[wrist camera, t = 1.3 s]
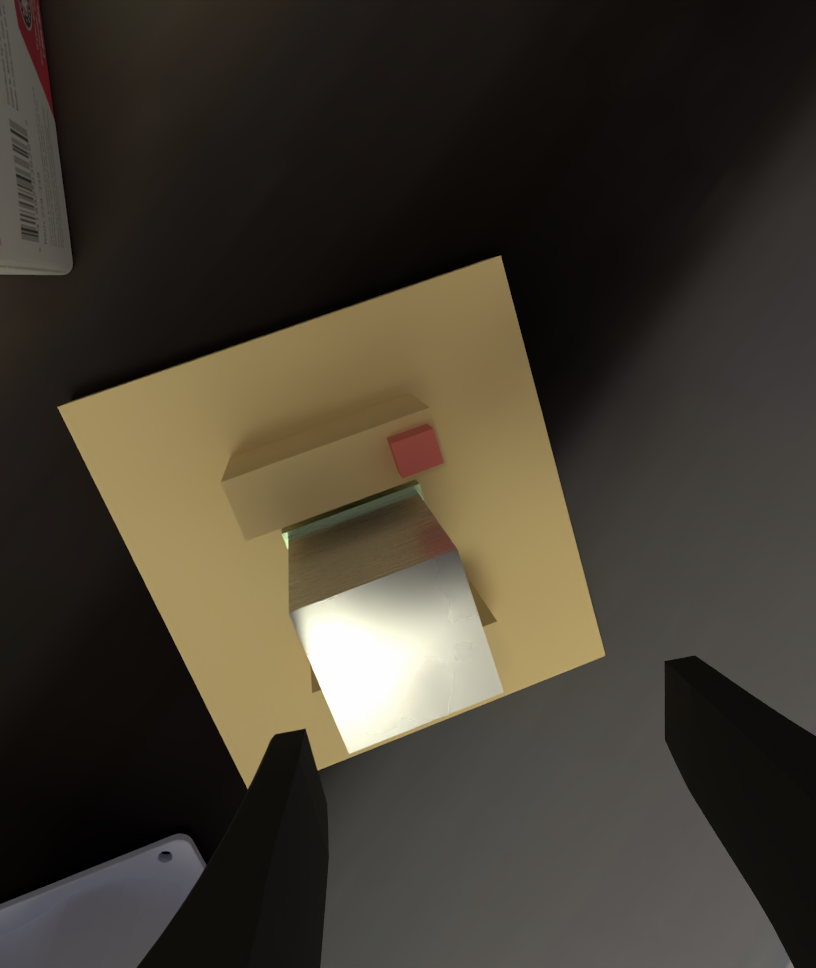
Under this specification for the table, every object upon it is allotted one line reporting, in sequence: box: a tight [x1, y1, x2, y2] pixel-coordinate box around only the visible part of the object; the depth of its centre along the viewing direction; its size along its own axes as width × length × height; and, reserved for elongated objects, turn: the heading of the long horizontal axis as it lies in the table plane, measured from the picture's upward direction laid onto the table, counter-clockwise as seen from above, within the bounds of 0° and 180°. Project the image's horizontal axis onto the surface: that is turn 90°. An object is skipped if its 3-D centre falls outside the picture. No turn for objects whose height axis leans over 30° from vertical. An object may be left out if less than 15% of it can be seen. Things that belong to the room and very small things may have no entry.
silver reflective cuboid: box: [282, 479, 504, 754], centre depth 19 cm, size 4×4×7 cm
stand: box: [58, 256, 605, 789], centre depth 21 cm, size 14×15×5 cm
